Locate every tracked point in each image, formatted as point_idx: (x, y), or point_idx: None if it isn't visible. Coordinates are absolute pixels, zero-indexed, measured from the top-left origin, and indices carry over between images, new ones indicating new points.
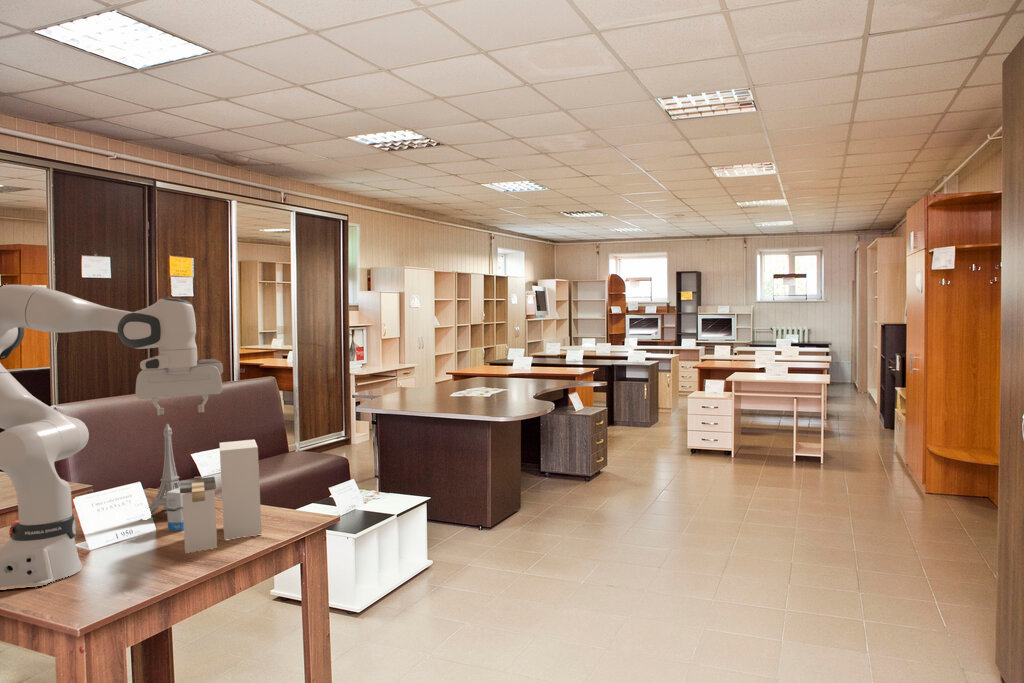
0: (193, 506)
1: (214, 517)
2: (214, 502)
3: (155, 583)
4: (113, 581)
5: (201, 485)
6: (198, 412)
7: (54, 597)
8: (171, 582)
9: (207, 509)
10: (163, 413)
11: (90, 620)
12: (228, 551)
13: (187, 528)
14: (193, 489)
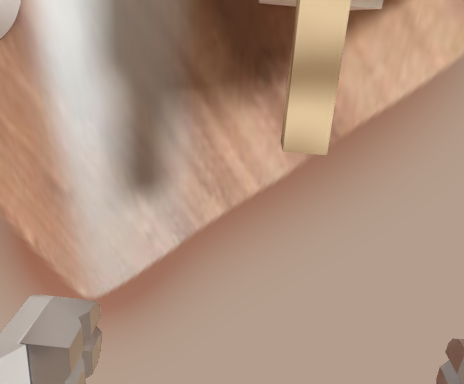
0: (294, 2)
1: (353, 9)
2: (368, 9)
3: (189, 182)
4: (108, 120)
5: (332, 48)
6: (438, 378)
7: (13, 149)
8: (218, 194)
9: None
10: (92, 366)
11: (99, 288)
12: (358, 55)
13: (269, 2)
14: (294, 106)
